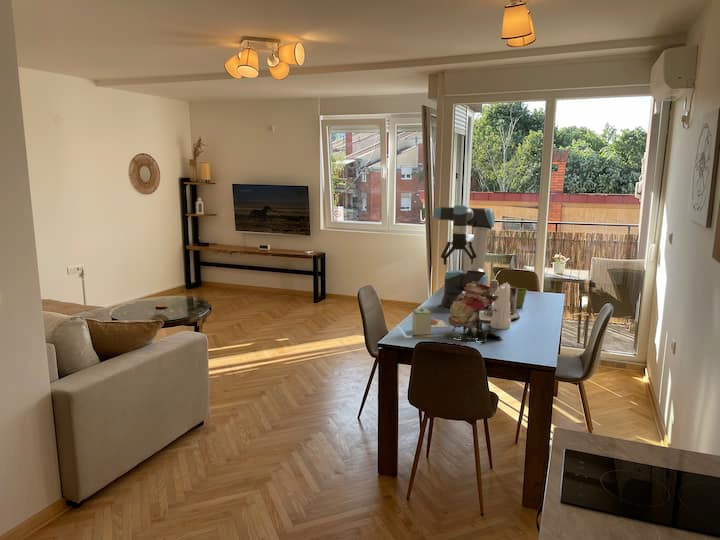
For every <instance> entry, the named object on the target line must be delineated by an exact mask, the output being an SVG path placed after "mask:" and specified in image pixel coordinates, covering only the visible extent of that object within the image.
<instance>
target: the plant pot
mask: <svg viewBox="0 0 720 540" xmlns="http://www.w3.org/2000/svg"><path fill="white" fill-rule="evenodd" d="M527 292H528V289H526V288H518V291H517V304H516V309H518V308H523V306H524V302H525V297H526V295H527Z"/></svg>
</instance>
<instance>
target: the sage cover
mask: <svg viewBox="0 0 720 540" xmlns="http://www.w3.org/2000/svg"><path fill="white" fill-rule="evenodd" d="M431 319H432V312H431V310H429V309H428V308H425V307H424V308H423V307H420V308H413V309H412V331H413V333H414V335H432V334H431V331H432V327H431Z"/></svg>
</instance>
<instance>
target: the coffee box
mask: <svg viewBox="0 0 720 540" xmlns="http://www.w3.org/2000/svg"><path fill="white" fill-rule="evenodd" d="M517 291H518V286H513V285H510V312H511V313H514V312H515V313H516V312H517V308H516V304H517ZM511 313H510V314H511ZM515 313H514V314H515Z"/></svg>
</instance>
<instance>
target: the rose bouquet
mask: <svg viewBox="0 0 720 540" xmlns="http://www.w3.org/2000/svg"><path fill="white" fill-rule="evenodd" d="M477 284H478V285H477ZM466 286H467V287H465V288H464V289H465V291H466V292H465V291H464V293H463V292H462V294H459V295H458V298H457V299H455V301H453V302H454V303H453V304H452V305H451V307H450V308H449V314H450V315H449V316H448V324H449V325H450V326H451V327H453V328H452V330H451V332H445V333H444V338H445V337H447V338H451V339H453V338H456V339H461V340H459V342H463V343H465V342H466V343H465V344H467V342H469V343H471V342H475V343H476V340H475V339H473V338H478V339H477V340H479V339H480V340H479V341H482V342H480V343H482V344H481V345H483V343H484V342H489V341H488V340H489V339H487V336H492V337H493V338H498V340H500V341H501V340H502V336H500V335H498V334H496V333H493V331H495V328H492V329H483V323H484V322H486V321H484V320H482V321H481V318H480V313H481V312H490V311H492V312H493V311H497V312H498V310H496V309H493V307H490V306H491V305H492V304H494V301H496V300H497V298H498V296H494V295H491V294H492V291H493V288H492V287H491V286H488V285H487V286H486V285H483V284H481V283H479V282H474V281H472V283H469V284H467V285H466ZM461 327H462V329H463V331H462V332H463V333H456V332H455V331H456V328H461ZM466 331H468V333H469V334H467V332H466ZM466 334H467V336H468V335H469V336H468V337H467V336H466ZM460 337H461V338H460ZM469 337H471V338H469ZM447 338H446V339H447ZM451 339H450V340H451Z"/></svg>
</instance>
